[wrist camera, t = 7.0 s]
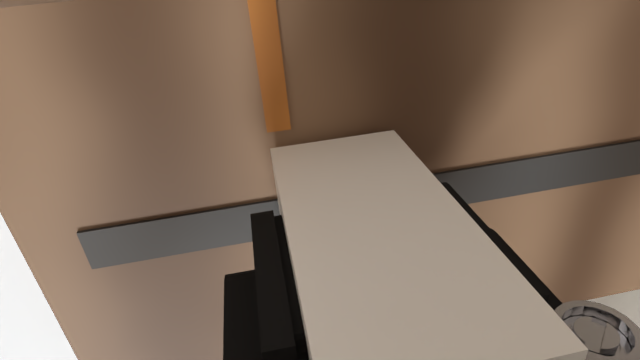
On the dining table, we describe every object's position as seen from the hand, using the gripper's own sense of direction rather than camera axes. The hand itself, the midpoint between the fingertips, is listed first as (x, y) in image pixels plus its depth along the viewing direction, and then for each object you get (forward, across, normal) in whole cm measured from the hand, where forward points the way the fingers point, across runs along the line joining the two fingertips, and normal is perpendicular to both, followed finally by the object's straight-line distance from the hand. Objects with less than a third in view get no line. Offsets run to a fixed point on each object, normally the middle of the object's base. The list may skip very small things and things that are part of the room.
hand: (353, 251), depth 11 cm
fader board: (+5, -3, 0) cm, 6 cm away
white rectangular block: (+2, 0, 0) cm, 2 cm away
